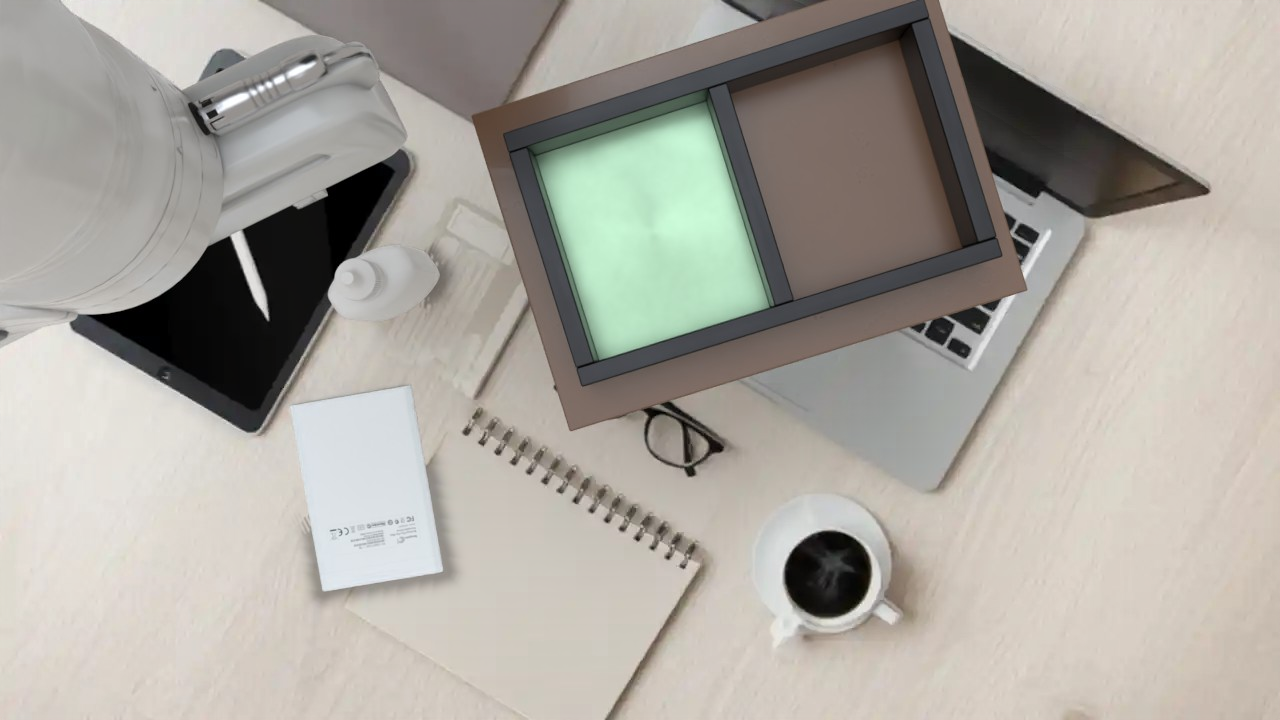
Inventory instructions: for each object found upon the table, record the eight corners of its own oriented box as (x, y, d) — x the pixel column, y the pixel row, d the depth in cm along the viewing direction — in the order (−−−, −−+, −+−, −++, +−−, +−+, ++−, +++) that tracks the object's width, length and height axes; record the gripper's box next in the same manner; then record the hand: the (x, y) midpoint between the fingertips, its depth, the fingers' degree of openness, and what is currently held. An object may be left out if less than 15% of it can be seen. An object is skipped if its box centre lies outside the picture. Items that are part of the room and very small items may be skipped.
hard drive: (416, 383, 73) (448, 567, 73) (296, 404, 73) (328, 587, 73) (410, 384, 71) (442, 573, 71) (287, 405, 72) (320, 593, 72)
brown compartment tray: (475, 120, 47) (458, 102, 44) (922, -24, 46) (943, -55, 43) (572, 429, 48) (563, 437, 44) (1019, 291, 47) (1048, 288, 43)
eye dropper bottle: (358, 257, 73) (293, 243, 61) (441, 250, 72) (393, 233, 60) (364, 323, 73) (301, 321, 61) (447, 316, 73) (401, 312, 61)
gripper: (316, -51, 36) (388, 68, 50) (-269, 227, 35) (-30, 271, 49) (404, 120, 36) (451, 192, 50) (-177, 405, 35) (36, 398, 49)
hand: (211, 233), depth 49 cm, fingers open, 8 cm apart
